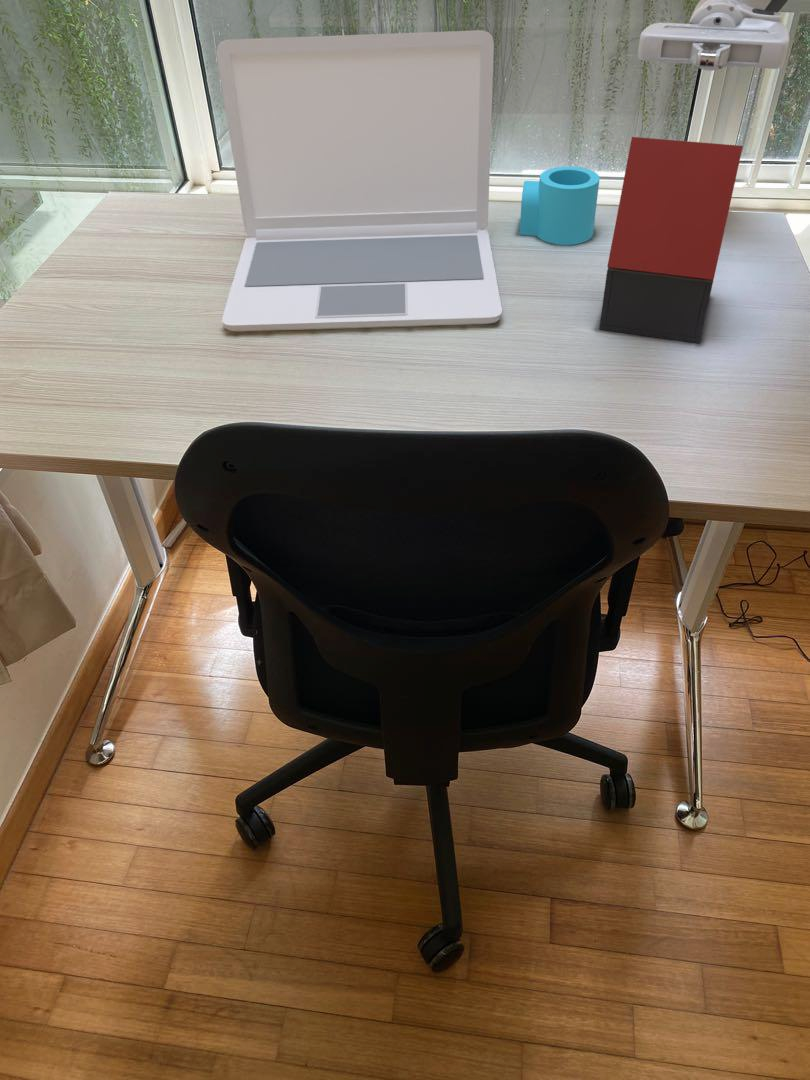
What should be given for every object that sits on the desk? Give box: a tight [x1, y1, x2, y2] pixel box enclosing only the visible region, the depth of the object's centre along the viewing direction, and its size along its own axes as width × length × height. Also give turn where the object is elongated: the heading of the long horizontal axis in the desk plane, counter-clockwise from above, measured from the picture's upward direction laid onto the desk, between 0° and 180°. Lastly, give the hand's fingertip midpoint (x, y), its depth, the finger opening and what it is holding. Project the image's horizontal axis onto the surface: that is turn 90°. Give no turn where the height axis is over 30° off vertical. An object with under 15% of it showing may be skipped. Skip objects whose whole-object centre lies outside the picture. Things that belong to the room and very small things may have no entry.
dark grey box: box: [598, 267, 714, 344], centre depth 122 cm, size 14×14×9 cm
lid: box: [606, 136, 744, 281], centre depth 112 cm, size 16×14×1 cm
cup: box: [519, 166, 600, 246], centre depth 143 cm, size 12×10×9 cm
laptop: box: [216, 29, 503, 333], centre depth 125 cm, size 40×31×31 cm
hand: (707, 61), depth 119 cm, fingers closed
